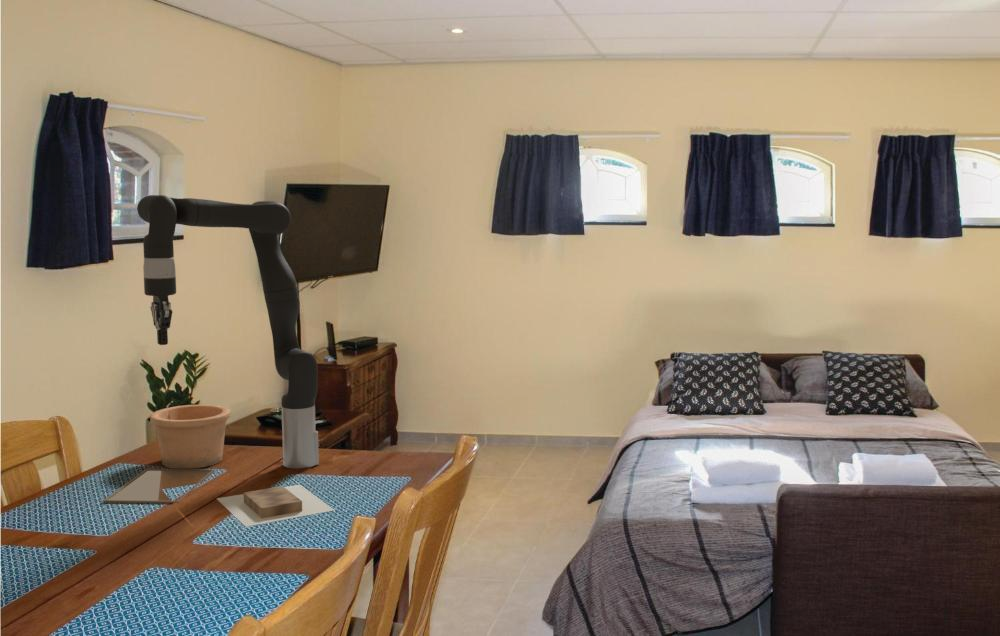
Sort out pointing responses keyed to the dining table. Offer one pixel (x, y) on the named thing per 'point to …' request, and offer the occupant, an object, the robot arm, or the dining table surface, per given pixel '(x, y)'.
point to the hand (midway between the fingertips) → (162, 344)
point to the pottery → (190, 435)
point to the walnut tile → (272, 502)
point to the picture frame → (157, 485)
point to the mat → (250, 518)
